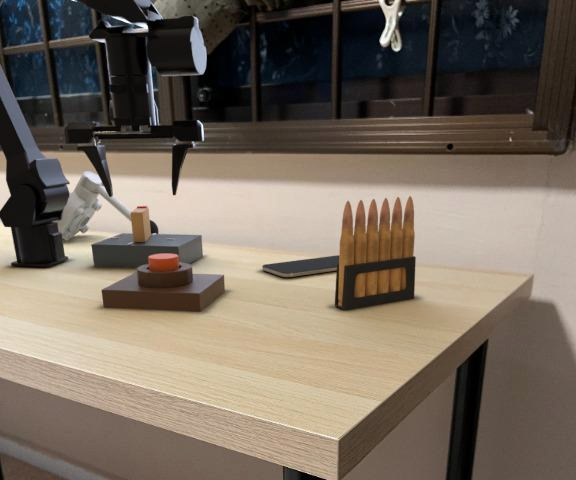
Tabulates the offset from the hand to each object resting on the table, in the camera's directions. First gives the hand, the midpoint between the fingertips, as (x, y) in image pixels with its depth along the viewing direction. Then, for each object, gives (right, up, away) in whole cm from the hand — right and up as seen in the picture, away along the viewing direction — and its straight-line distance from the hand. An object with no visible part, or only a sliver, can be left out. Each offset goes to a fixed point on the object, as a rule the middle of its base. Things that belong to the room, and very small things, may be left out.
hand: (142, 195), depth 90 cm
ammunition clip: (+32, -18, -16) cm, 40 cm away
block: (-2, -5, +7) cm, 9 cm away
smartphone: (+25, -10, +2) cm, 27 cm away
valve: (-14, 0, +29) cm, 32 cm away
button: (+6, -14, -16) cm, 22 cm away
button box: (+6, -17, -14) cm, 23 cm away
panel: (-1, -8, +8) cm, 12 cm away
